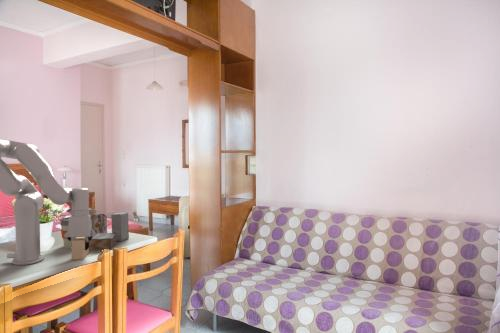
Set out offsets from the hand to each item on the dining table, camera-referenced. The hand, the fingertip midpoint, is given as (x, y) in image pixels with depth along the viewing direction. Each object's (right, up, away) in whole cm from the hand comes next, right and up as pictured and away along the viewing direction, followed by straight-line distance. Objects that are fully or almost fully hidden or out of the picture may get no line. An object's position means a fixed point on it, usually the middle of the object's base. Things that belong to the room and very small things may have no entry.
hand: (80, 249), depth 164 cm
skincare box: (+6, -3, +34) cm, 35 cm away
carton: (0, -4, 0) cm, 4 cm away
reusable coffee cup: (-14, -3, +21) cm, 25 cm away
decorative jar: (-10, -3, +34) cm, 35 cm away
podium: (+2, -3, +18) cm, 18 cm away
